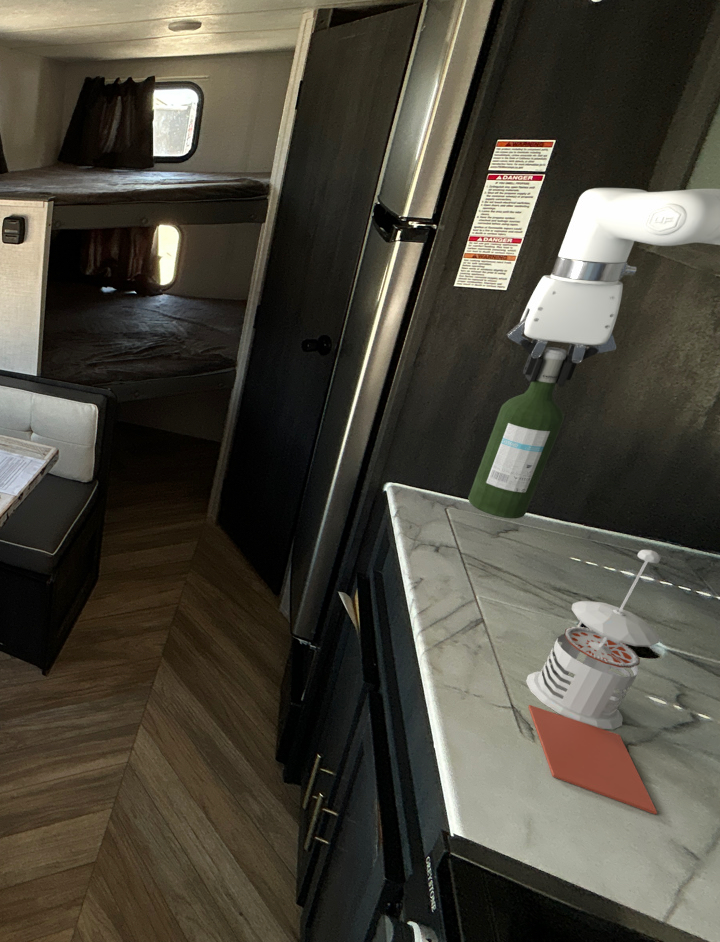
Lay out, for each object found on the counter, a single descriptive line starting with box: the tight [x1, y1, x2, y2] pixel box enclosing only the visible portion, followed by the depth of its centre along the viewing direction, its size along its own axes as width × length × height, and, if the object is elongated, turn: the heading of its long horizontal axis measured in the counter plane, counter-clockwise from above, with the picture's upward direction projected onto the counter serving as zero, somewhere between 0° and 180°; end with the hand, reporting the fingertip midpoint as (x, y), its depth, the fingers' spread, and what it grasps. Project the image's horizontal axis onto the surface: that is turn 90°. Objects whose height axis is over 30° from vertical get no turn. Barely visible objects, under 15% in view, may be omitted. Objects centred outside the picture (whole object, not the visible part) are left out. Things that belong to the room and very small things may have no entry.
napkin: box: [528, 704, 658, 815], centre depth 80 cm, size 9×12×1 cm
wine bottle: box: [467, 346, 567, 519], centre depth 108 cm, size 8×8×30 cm
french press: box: [525, 549, 662, 730], centre depth 84 cm, size 10×12×25 cm
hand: (544, 380), depth 105 cm, fingers closed on wine bottle, 2 cm apart
